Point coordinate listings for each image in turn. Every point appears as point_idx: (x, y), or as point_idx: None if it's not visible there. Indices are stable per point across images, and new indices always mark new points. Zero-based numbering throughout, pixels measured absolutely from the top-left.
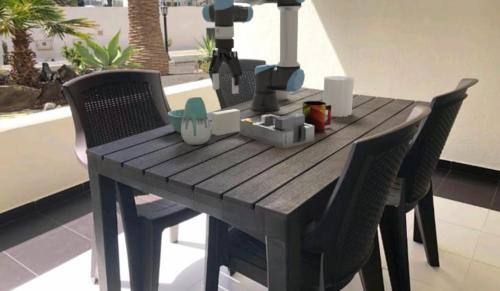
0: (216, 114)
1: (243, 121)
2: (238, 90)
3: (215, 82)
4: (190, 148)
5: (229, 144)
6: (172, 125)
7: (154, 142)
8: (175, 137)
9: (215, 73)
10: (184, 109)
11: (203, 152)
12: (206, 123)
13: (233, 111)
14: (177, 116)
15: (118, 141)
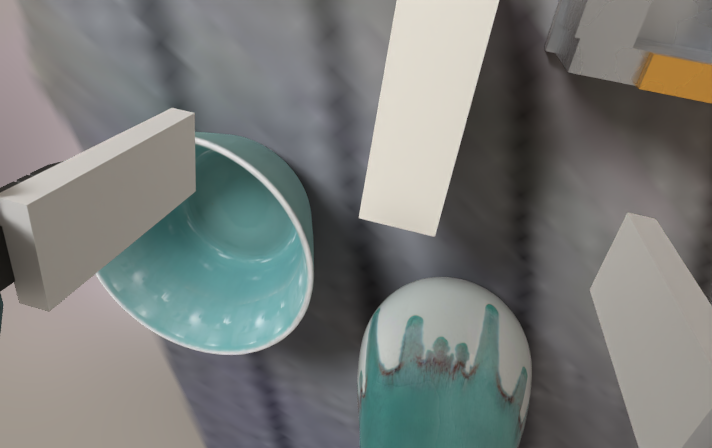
0: (427, 234)
1: (625, 83)
2: (669, 240)
3: (143, 205)
4: None
5: None
6: (206, 284)
7: (300, 390)
8: None
9: (2, 246)
10: None
11: (582, 401)
12: (526, 408)
13: (476, 65)
14: (245, 350)
15: (198, 429)
